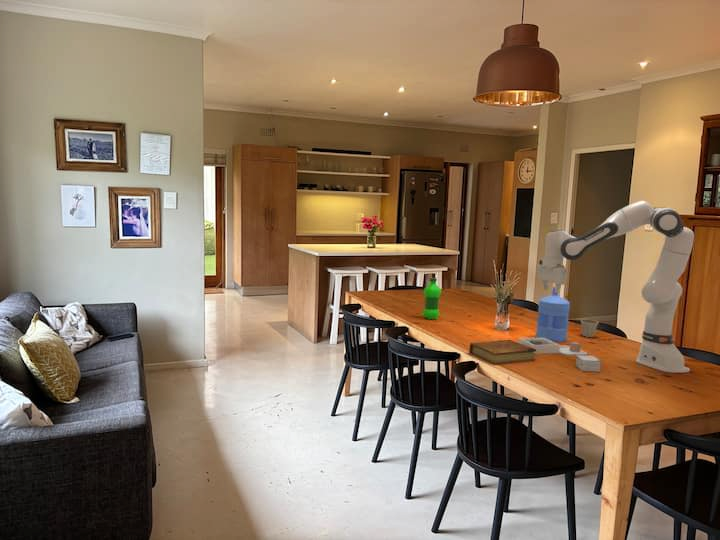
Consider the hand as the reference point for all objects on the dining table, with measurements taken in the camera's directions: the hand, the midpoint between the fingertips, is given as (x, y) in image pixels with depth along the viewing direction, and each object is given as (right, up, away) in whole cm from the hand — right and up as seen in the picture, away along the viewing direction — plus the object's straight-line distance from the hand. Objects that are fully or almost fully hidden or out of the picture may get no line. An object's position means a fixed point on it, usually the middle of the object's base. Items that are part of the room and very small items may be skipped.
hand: (550, 290), depth 257 cm
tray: (+8, -30, -2) cm, 31 cm away
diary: (-28, -31, -14) cm, 44 cm away
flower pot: (+33, -27, +34) cm, 55 cm away
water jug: (+9, -27, +24) cm, 37 cm away
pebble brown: (+11, -29, -1) cm, 32 cm away
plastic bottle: (-51, -20, +63) cm, 83 cm away
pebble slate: (-4, -28, 0) cm, 29 cm away
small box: (+6, -33, -28) cm, 44 cm away
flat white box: (-6, -29, -1) cm, 30 cm away
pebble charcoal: (-9, -28, -1) cm, 30 cm away
